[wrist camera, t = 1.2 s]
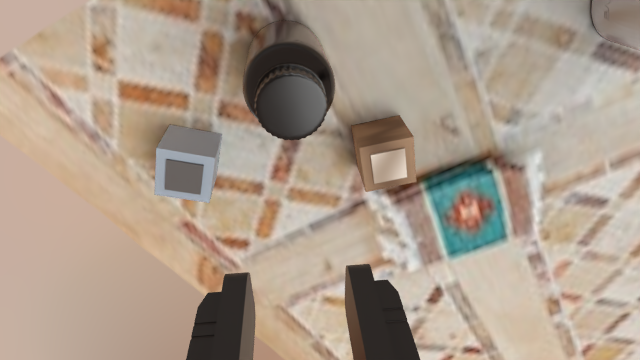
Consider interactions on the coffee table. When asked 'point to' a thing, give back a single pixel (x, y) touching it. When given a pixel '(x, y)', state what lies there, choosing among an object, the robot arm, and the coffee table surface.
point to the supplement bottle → (288, 80)
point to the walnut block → (384, 153)
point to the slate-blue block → (187, 163)
